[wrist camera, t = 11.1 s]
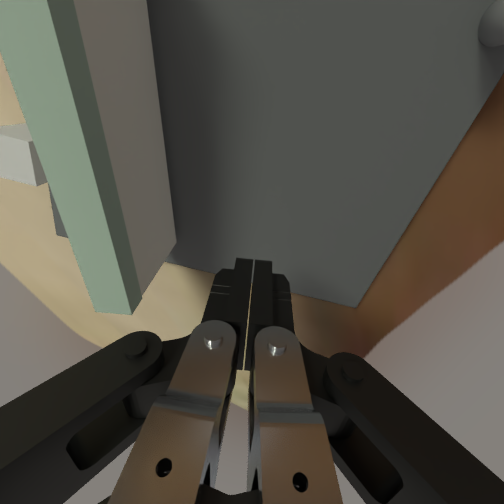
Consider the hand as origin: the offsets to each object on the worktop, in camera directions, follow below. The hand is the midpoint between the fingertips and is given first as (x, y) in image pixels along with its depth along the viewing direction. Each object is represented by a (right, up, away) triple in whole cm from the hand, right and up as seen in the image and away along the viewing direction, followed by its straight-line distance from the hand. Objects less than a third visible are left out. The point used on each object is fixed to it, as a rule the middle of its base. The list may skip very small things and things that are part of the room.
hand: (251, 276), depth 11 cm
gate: (-6, +8, +4) cm, 11 cm away
